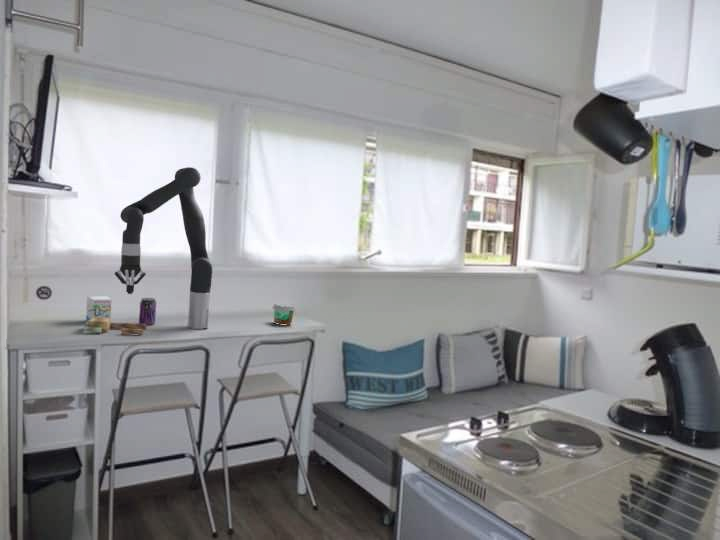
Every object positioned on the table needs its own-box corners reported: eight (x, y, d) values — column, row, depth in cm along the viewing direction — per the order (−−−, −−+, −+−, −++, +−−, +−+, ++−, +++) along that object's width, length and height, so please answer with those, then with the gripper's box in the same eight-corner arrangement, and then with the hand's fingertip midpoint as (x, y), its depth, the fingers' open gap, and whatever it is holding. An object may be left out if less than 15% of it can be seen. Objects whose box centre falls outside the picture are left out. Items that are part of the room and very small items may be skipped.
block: (109, 329, 232) (110, 318, 232) (106, 333, 225) (107, 321, 225) (92, 329, 230) (93, 317, 230) (88, 332, 224) (89, 321, 223)
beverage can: (149, 326, 244) (150, 300, 243) (135, 324, 246) (137, 299, 244) (158, 323, 251) (159, 298, 250) (144, 321, 252) (146, 297, 251)
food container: (267, 323, 275) (268, 304, 274) (273, 321, 281) (274, 303, 280) (287, 327, 271) (289, 308, 270) (293, 325, 277) (295, 306, 276)
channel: (146, 329, 238) (146, 320, 238) (142, 335, 227) (143, 326, 226) (90, 327, 232) (90, 318, 232) (83, 333, 220) (84, 324, 220)
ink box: (90, 324, 237) (91, 299, 236) (85, 320, 243) (86, 296, 242) (110, 323, 242) (112, 298, 241) (105, 319, 249) (106, 295, 248)
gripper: (148, 253, 232) (147, 292, 234) (115, 252, 228) (114, 291, 230) (146, 255, 225) (145, 295, 227) (112, 254, 221) (111, 294, 223)
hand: (129, 293), depth 228 cm, fingers closed
